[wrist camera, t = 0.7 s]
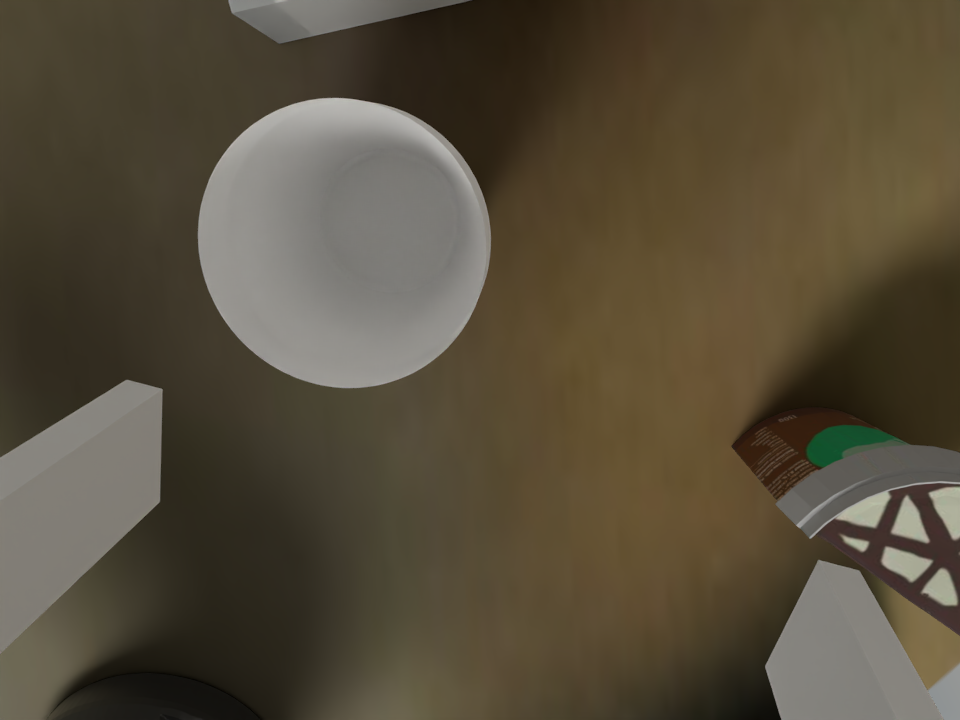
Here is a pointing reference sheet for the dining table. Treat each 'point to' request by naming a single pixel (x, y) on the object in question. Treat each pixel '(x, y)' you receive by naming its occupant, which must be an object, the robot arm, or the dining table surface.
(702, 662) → the dining table surface
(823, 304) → the dining table surface
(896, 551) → the food container
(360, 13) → the bin
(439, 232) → the cup
